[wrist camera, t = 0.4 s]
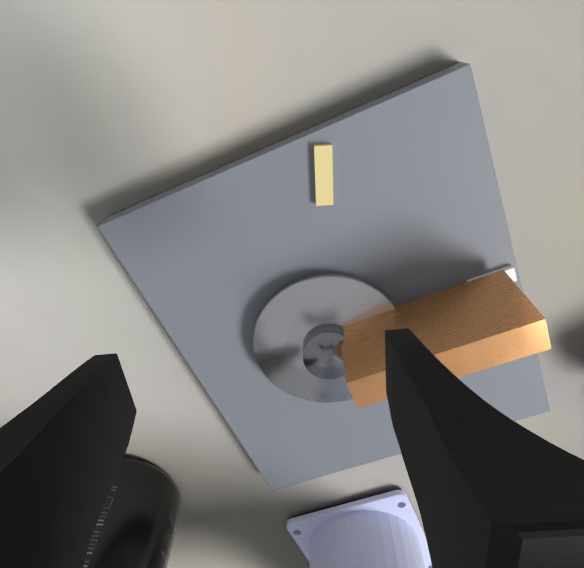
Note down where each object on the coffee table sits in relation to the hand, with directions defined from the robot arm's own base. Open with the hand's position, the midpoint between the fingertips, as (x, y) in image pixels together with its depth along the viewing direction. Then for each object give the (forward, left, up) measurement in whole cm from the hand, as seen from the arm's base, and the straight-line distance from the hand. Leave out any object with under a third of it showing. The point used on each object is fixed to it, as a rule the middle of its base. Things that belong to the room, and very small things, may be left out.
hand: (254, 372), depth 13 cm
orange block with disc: (-5, -3, -9) cm, 11 cm away
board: (-5, -2, -10) cm, 12 cm away
